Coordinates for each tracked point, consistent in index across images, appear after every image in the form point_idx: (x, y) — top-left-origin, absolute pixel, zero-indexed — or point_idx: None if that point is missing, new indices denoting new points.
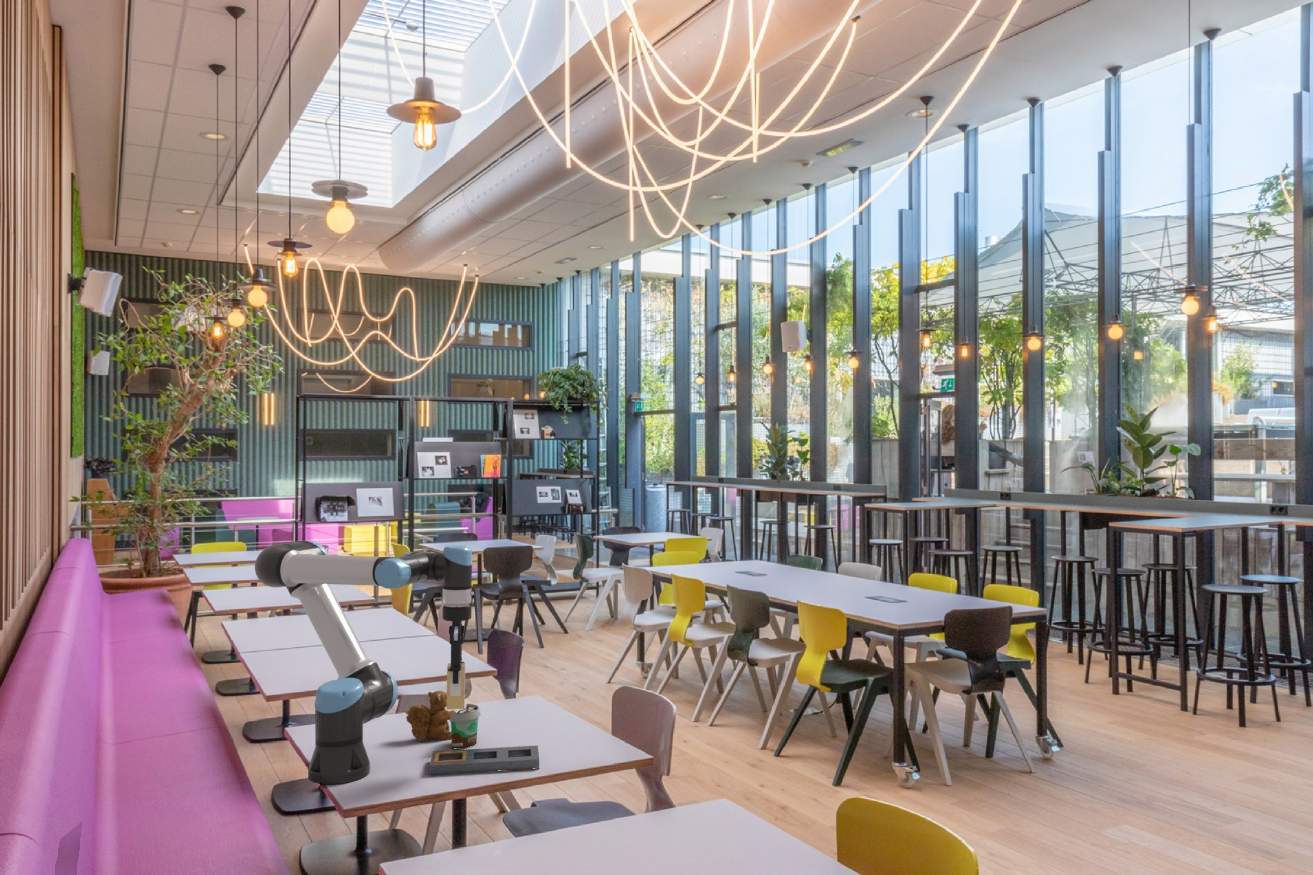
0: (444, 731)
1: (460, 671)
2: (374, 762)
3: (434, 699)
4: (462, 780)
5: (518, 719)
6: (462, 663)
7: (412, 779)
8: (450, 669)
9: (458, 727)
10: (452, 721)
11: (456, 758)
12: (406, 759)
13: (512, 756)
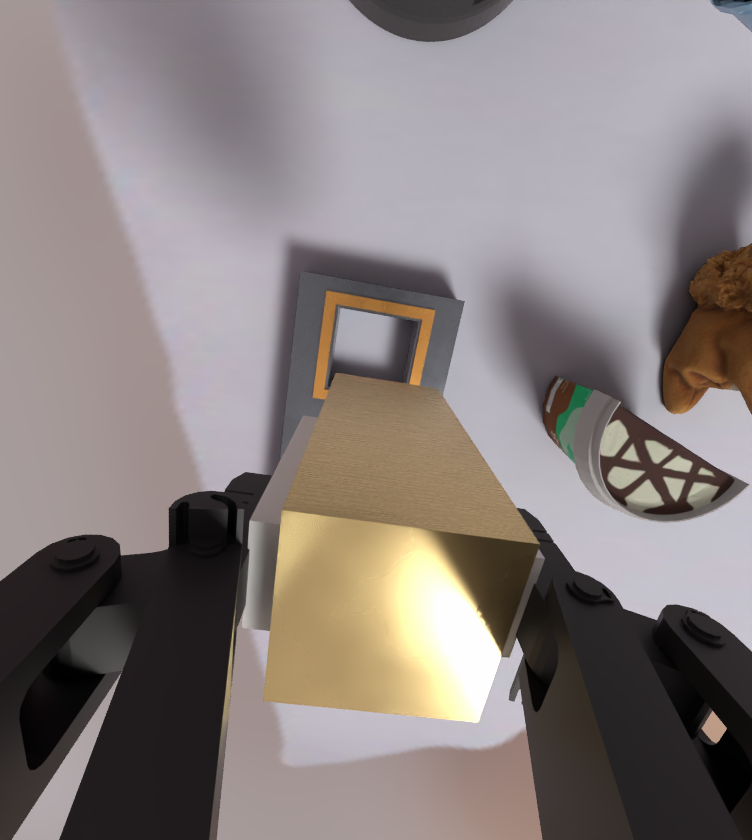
0: (685, 367)
1: (243, 616)
2: (531, 71)
3: None
4: (228, 370)
5: (743, 592)
6: (463, 695)
7: (282, 210)
8: (68, 539)
9: (574, 415)
10: (588, 399)
11: (405, 375)
12: (512, 207)
13: None
